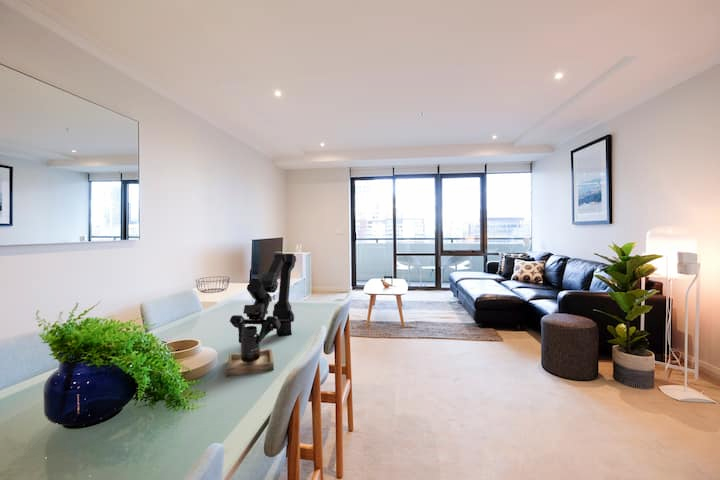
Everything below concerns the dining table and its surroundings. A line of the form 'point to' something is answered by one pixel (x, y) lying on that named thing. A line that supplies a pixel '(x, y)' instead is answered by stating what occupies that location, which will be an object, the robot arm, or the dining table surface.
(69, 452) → the dining table surface
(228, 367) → the oak tray
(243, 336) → the supplement bottle
